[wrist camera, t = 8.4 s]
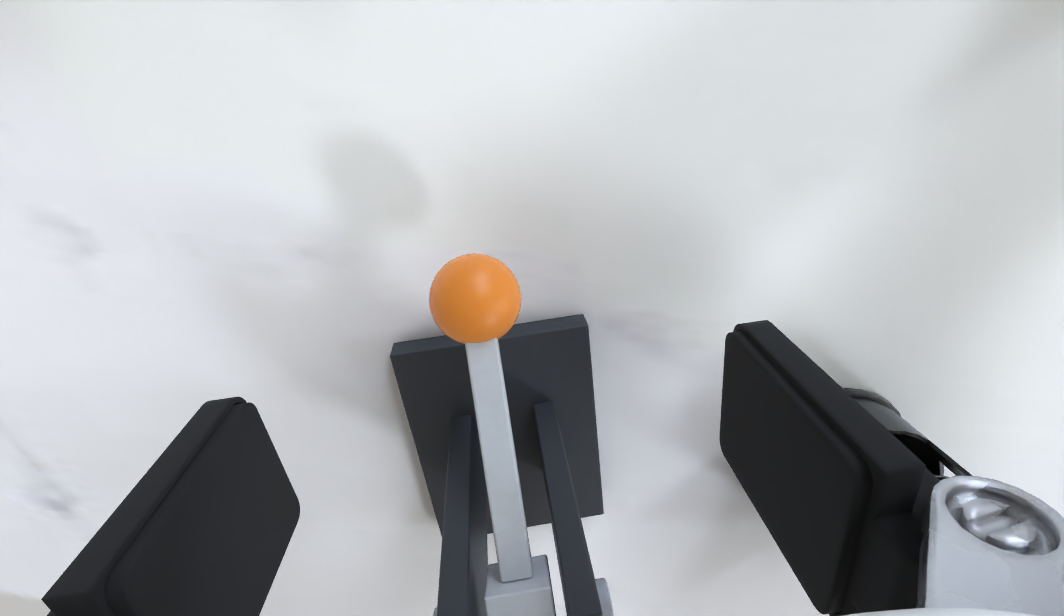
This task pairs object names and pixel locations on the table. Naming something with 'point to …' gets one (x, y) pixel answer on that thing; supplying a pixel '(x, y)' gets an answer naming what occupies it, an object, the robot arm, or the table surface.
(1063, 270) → the table surface
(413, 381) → the switch bracket
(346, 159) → the table surface
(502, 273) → the switch lever
